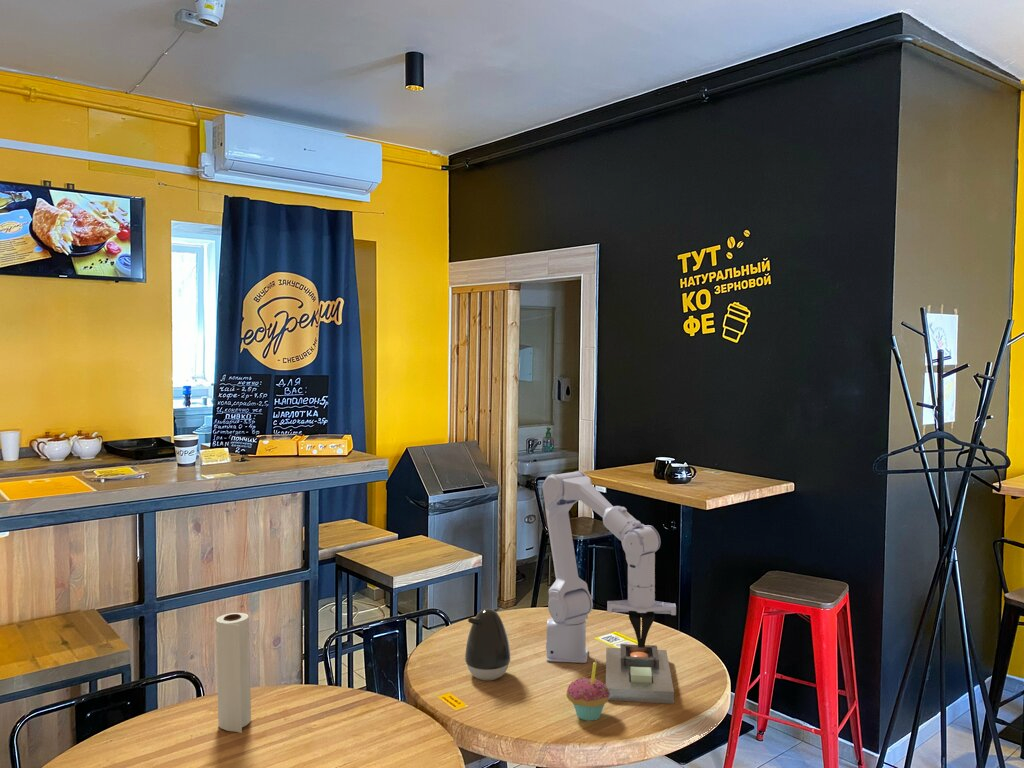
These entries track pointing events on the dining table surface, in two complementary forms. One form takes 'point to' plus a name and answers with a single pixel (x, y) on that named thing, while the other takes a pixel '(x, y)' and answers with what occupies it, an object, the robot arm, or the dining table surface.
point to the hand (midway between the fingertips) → (641, 645)
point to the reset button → (638, 654)
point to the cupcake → (588, 696)
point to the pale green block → (640, 675)
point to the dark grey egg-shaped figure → (487, 646)
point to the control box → (638, 692)
